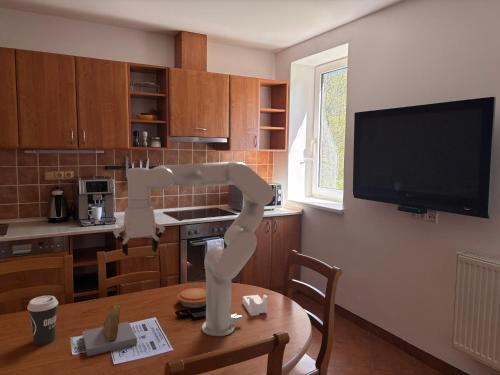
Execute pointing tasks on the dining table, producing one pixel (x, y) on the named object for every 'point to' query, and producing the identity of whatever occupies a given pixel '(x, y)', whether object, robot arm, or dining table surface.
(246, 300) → the bracket
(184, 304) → the pie
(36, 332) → the coffee cup
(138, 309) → the dining table surface
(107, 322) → the rock
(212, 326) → the robot arm
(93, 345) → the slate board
